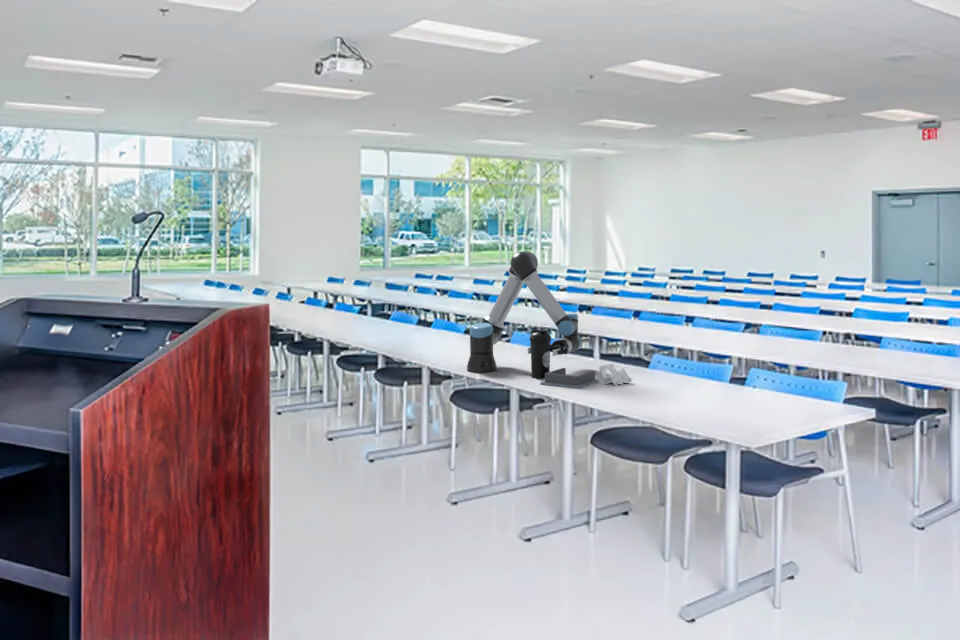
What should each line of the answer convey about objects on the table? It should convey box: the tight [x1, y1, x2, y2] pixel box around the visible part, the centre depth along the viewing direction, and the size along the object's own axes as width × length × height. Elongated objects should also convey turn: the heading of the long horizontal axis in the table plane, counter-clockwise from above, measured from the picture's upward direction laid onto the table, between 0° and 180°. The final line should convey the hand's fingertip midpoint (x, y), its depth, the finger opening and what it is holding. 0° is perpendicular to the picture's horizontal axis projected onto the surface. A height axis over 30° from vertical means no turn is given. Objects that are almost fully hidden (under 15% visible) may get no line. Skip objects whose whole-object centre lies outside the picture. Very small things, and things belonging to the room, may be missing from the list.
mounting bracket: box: [598, 364, 633, 386], centre depth 367 cm, size 12×6×11 cm, turn 127°
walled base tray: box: [539, 367, 600, 389], centre depth 369 cm, size 20×20×5 cm
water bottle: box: [529, 328, 552, 380], centre depth 383 cm, size 10×10×23 cm
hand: (540, 352), depth 382 cm, fingers open, 13 cm apart
